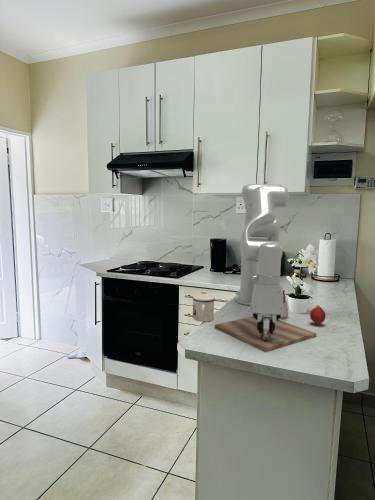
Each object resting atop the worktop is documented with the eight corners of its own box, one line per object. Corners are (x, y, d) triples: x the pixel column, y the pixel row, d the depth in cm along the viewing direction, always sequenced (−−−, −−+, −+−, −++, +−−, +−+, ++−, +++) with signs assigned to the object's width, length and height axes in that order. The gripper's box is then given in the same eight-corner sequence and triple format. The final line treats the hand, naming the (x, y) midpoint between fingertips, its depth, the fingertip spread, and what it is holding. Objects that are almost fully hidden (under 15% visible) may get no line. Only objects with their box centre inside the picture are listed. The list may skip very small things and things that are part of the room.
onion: (312, 321, 139) (313, 302, 138) (326, 324, 136) (328, 304, 135) (307, 324, 135) (308, 305, 134) (322, 328, 131) (323, 308, 130)
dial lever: (258, 325, 127) (259, 307, 127) (269, 326, 127) (270, 308, 126) (259, 340, 113) (260, 320, 112) (272, 341, 112) (273, 321, 111)
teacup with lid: (192, 314, 144) (193, 288, 143) (214, 315, 144) (215, 288, 142) (190, 324, 133) (191, 294, 131) (214, 325, 132) (214, 295, 130)
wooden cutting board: (262, 317, 143) (262, 313, 143) (316, 336, 122) (316, 332, 122) (214, 327, 129) (214, 324, 129) (265, 352, 107) (266, 347, 107)
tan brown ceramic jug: (283, 313, 149) (284, 287, 148) (290, 318, 142) (292, 290, 141) (268, 314, 148) (269, 287, 146) (274, 319, 141) (276, 291, 139)
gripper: (244, 281, 111) (242, 335, 113) (295, 283, 110) (292, 338, 112) (243, 276, 119) (241, 327, 121) (291, 278, 117) (288, 330, 119)
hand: (265, 332), depth 116 cm, fingers closed on dial lever, 3 cm apart
